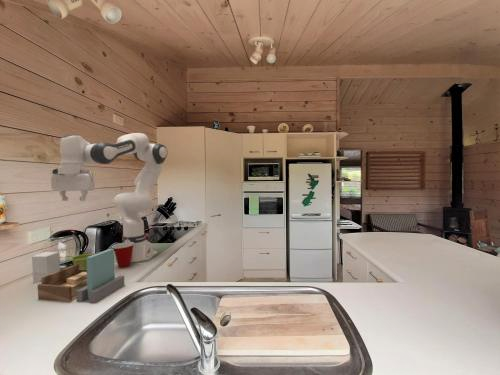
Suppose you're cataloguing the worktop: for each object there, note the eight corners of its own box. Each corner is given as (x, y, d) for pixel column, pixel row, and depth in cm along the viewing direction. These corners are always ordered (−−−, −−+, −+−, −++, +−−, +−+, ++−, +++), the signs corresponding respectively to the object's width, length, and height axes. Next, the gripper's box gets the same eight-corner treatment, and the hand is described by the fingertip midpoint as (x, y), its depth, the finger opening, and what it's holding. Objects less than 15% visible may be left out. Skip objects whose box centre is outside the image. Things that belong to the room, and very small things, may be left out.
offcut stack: (85, 284, 111) (84, 270, 111) (95, 285, 110) (94, 271, 110) (59, 297, 100) (59, 281, 99) (70, 298, 99) (70, 282, 98)
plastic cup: (113, 264, 142) (112, 243, 142) (134, 261, 146) (134, 240, 146) (111, 270, 132) (111, 247, 132) (134, 267, 137) (134, 245, 136)
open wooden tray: (78, 284, 116) (77, 263, 115) (105, 286, 113) (105, 264, 113) (38, 303, 98) (37, 278, 98) (69, 306, 95) (68, 280, 95)
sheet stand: (108, 287, 112) (107, 274, 111) (124, 288, 110) (124, 276, 110) (76, 305, 96) (76, 290, 96) (95, 307, 94) (94, 292, 94)
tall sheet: (110, 286, 109) (109, 248, 108) (114, 286, 109) (113, 249, 108) (87, 299, 97) (86, 257, 97) (92, 300, 97) (91, 257, 96)
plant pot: (98, 271, 132) (98, 254, 132) (85, 278, 123) (84, 260, 122) (81, 270, 133) (81, 254, 133) (66, 277, 124) (66, 259, 123)
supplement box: (61, 278, 123) (60, 251, 123) (47, 284, 116) (46, 256, 116) (46, 277, 124) (45, 251, 124) (32, 283, 117) (31, 256, 116)
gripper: (97, 170, 119) (98, 200, 119) (60, 171, 123) (61, 200, 123) (86, 169, 112) (87, 201, 113) (47, 170, 116) (48, 201, 117)
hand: (73, 200), depth 118 cm, fingers open, 8 cm apart
